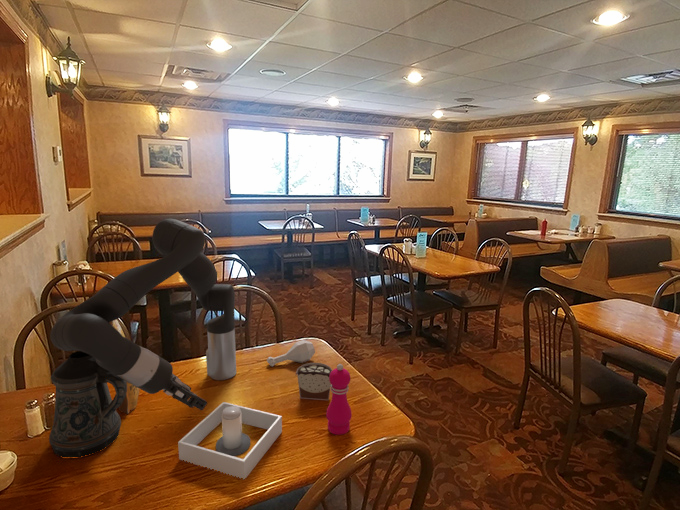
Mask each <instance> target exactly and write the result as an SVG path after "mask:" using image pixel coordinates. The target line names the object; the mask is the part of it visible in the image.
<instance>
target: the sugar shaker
mask: <svg viewBox="0 0 680 510" xmlns="http://www.w3.org/2000/svg"><path fill="white" fill-rule="evenodd" d="M242 424H243V423H242V419H241V411H240V408H239V407H236V406H230V407H227V408H225V409H224V410H223V412H222V422H221V427H222V430H221V431H222V436H223V446H224V447H225V448H227V449H235V448H237V447H239V446H240V445H241V444H242V433H243V425H242Z"/></svg>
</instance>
